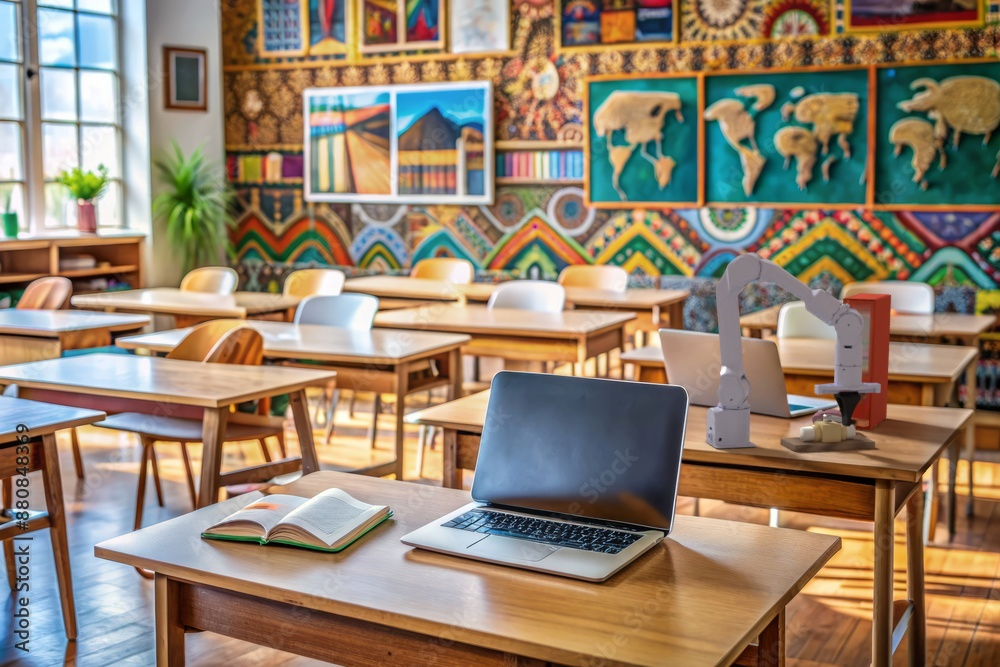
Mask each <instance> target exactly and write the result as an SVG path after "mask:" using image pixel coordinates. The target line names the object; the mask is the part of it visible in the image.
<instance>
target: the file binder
mask: <svg viewBox="0 0 1000 667" xmlns="http://www.w3.org/2000/svg"><path fill="white" fill-rule="evenodd" d="M842 303H843V304H845V305H846V304H849V305H850V307H849V309H856V310H857V311H858V312H859V313H860V314H861V315H862V317H863V319H864V326H863V330H862V332H861V333H862V337H863V338H862V345H863V351H862V381H861V383H878V384H881V390H880V393H875V392H872V393H858V394H859V395H861V400H860V401H859V403H858V404H857V406H856V408H855V410H854V412H853V415H852V418H858V419H864V420H869V426H865V427H862V426H856V425H855V430H865V431H866V430H867V431H871V430H873V429H874V428H875V427H876V426H878V425H879V424H880V423H882V422H883V421H884V420H885V419H886V418H887V413H888V385H889V359H890V338H891V337H890V332H891V331H890V330H891V313H892V312H891V308H892V306H891V305H892V294H888V293H887V294H886V293H861V292H860V293H857V294H853V295H849V296H848V297H847V296H846V297H844V298H842ZM843 304H842V305H843ZM841 391H850V390H841ZM838 408H839V407H838ZM838 411H840V408H839V410H838Z"/></svg>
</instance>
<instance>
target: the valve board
mask: <svg viewBox="0 0 1000 667" xmlns="http://www.w3.org/2000/svg"><path fill="white" fill-rule="evenodd" d="M779 442H780V445H781V446H782V447H785V448H786V449H788V450H790V451H792V452H794V453H798V452H799V453H802V452H823V451H824V452H825V451H843V450H844V451H845V450H846V451H847V450H849V451H850V450H866V449H867V450H868V449H876V441H874V440H872V439H870V438H867V437H865V436H863V435H860V434H856V435H855V438H854V439H846V440H841V441H840V442H821V441H818V442H813V441H802V440H801V439H800V436H798V437H797V436H796V437H780V441H779Z"/></svg>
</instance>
